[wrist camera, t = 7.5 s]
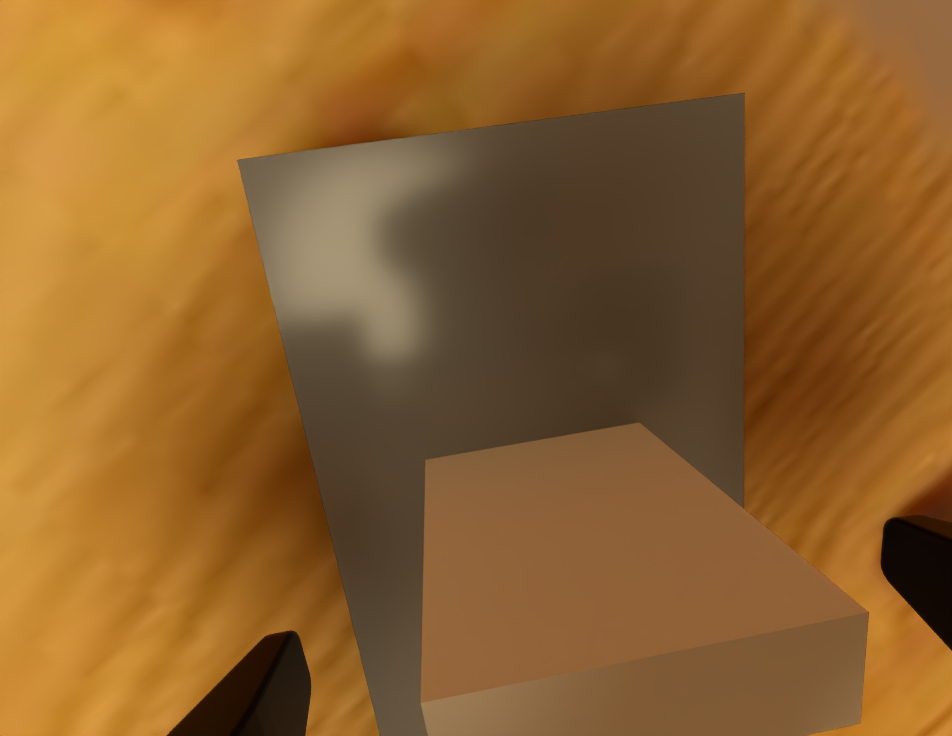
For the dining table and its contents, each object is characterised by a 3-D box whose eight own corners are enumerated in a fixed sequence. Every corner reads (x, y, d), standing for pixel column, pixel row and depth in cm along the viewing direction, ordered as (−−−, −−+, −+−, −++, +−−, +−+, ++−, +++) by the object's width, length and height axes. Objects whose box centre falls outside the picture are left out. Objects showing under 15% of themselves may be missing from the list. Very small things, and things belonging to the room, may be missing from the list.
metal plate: (726, 993, 18) (743, 1034, 17) (468, 1056, 18) (471, 1102, 17) (715, 107, 11) (744, 92, 10) (256, 168, 10) (237, 160, 9)
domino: (643, 484, 11) (859, 723, 6) (437, 521, 11) (445, 813, 5) (639, 422, 11) (868, 611, 5) (425, 460, 11) (420, 702, 5)
